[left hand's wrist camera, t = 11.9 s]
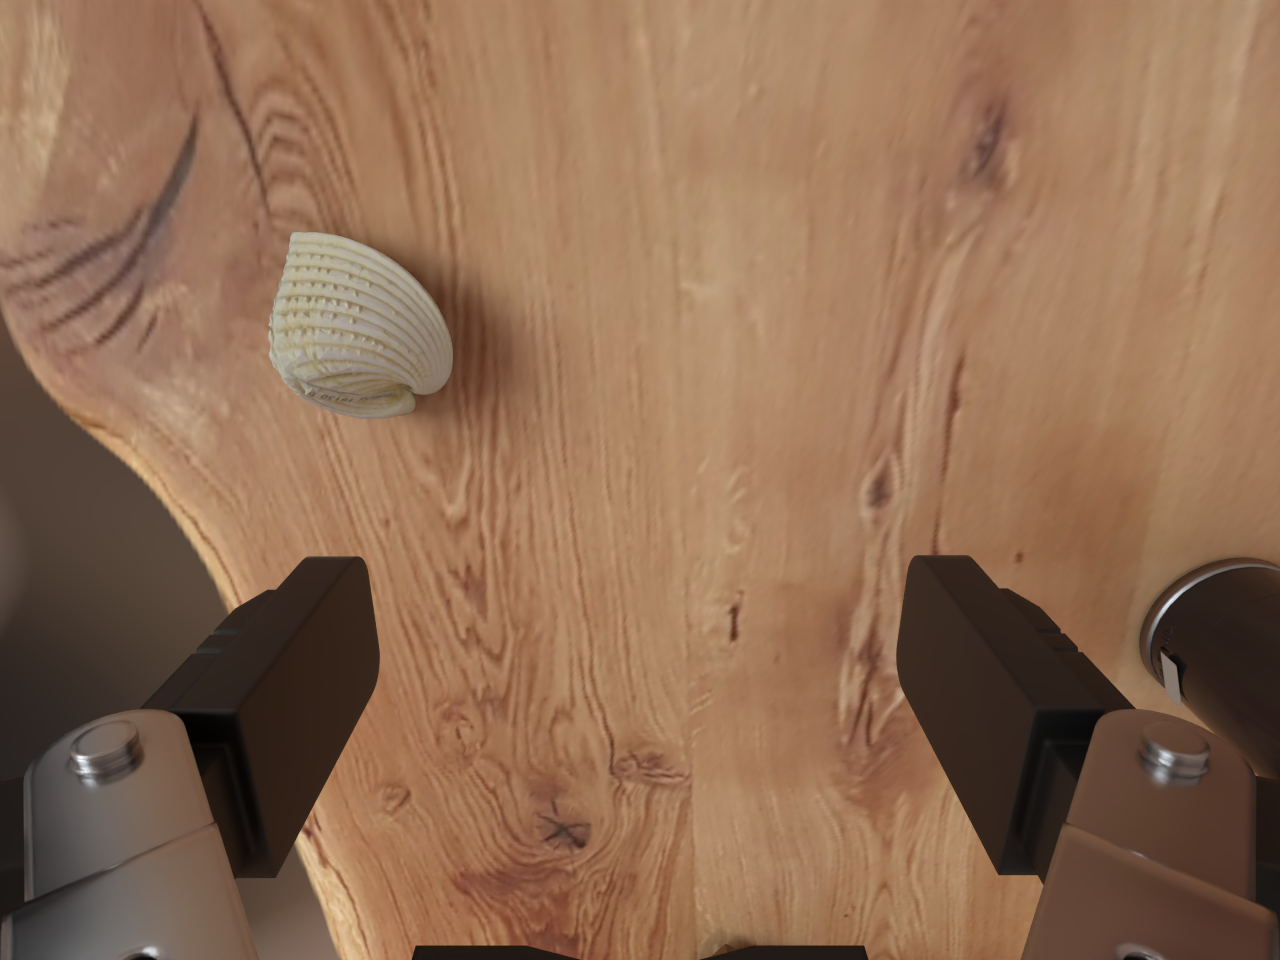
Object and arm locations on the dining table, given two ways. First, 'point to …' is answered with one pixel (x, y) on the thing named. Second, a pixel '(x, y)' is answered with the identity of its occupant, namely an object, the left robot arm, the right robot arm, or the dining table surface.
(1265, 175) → the dining table surface
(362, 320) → the seashell
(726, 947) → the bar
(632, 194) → the dining table surface
